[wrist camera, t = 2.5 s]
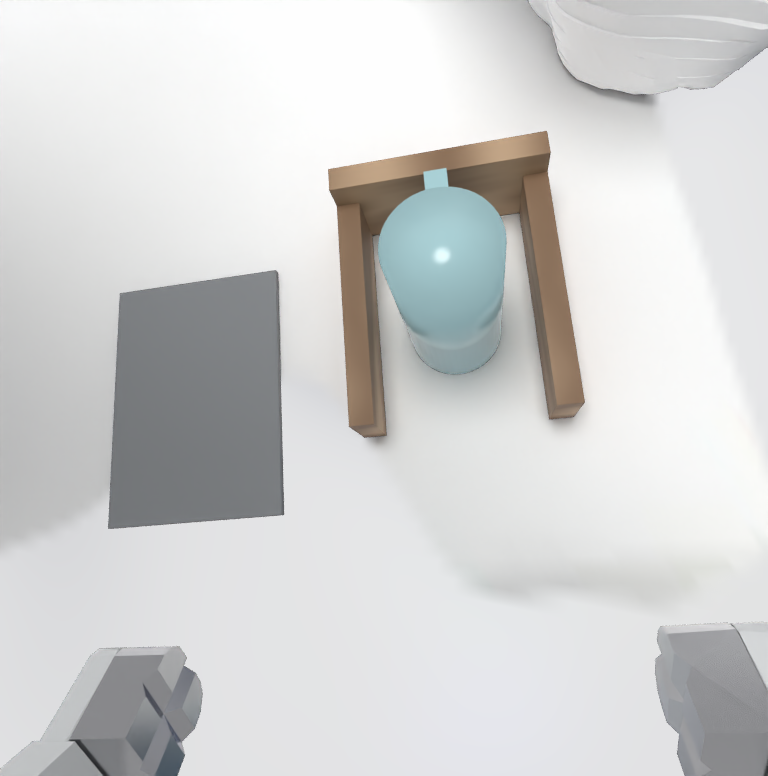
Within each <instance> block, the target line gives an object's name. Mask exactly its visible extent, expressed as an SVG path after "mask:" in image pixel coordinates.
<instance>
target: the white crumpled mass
mask: <svg viewBox="0 0 768 776" xmlns="http://www.w3.org/2000/svg"><path fill="white" fill-rule="evenodd" d="M528 2H529V4H530V6H531V7H532V9H533V10H534V11H535V13H536V14H537V15H538V16H539V17H540V18H542V19H543V20H544V21H545V22H546V23H547V24H549V26H550V27H551V29H552V32H553V35H554V38H555V44H556V48H557V51H558V54H559V56H560V58H561V60H562V63H563V64H564V65H565V67H566V68H567V70H568V71H569V72H570V73H571V74H572V75H573V76H574V77H575V78H576V79H577V80H580V81H583V82H585V83H588V84H591V85H593V86H596V87H598V88H600V89H615V90H618V91H622V92H626V93H630V94H633V95H637V94H650V95H653V94H657V93H662V92H666V91H671V90H674V89H676V88H678V87H684V88H687V89H690V90H692V89H705V88H712V87H715V86H716V85H717V84H719V83H720V82H721V81H723V80H724V79H725V78H727V77H728V76H729V75H731V74H732V73H733V72H734V71H736V70H739V69H740V68H741V67H742V66H744V65H745V64H746V63H747V62H749V61H750V60H751V59H752V58H754V57H755V56H756V55H758V54H759V53H760V52H761V51H763V50H764V49H765V48H768V0H528Z"/></svg>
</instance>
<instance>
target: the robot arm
mask: <svg viewBox="0 0 768 776" xmlns="http://www.w3.org/2000/svg"><path fill="white" fill-rule="evenodd" d="M657 642H658V645H659V648H660V650H661V653H662V654H661V655H660V656H658V657H657V658H656V665H655V674H656V682H657V689H658V694H659V698H660V702H661V705H662V709H663V712H664V715H665V718H666V721H667V723H668V724H669V725H670V726H671V727H672V728H673V729H674V730H675V731H676V732H677V733H679V741H678V751H677V755H678V757H679V760H680V763H681V766H682V769H683V772H684V775H685V776H768V623H767V622H749V623H732V624H728V623H710V624H692V625H675V626H661V627H660V628H659V630H658V637H657ZM186 659H187V657H186V655H185V654H184V652H183V651H182V649H181V648H180V647H178V646H177V647H137V648H127V647H126V648H125V647H124V648H100V649H98V650H97V651H96V652H94V653H93V654H92V655H91V656H90V657H89V658H88V660H87V662H86V663H85V665H84V667H83V669H82V670H81V672H80V674H79V675H78V677H77V679H76V680H75V682H74V684H73V685H72V687H71V689H70V691H69V692H68V694H67V696H66V697H65V699H64V701H63V703H62V704H61V706H60V708H59V709H58V711H57V713H56V714H55V716H54V718H53V720H52V721H51V723H50V725H49V726H48V728H47V730H46V731H45V733H44V735H43V737H42V738H41V740H40V741H32V742H31V743H30V744H29V745H28V746H26V747H25V748H24V749H23V750H22V751H20V752H19V753H18V754H17V755H16V756H15V757H13V758H12V759H11V760H10V761H9V762H7V763H6V764H5V765H4V766H3V767H2V768H0V776H177V775H178V773H179V770H180V767H181V764H182V762H183V759H184V756H185V754H184V749H183V746H182V741H183V740H184V739H185V738H186V737H187V736H188V735H189V734H190V733H191V732H192V731H193V730H194V729H195V726H196V724H197V720H198V718H199V715H200V712H201V704H202V688H201V682H200V680H199V678H198V676H197V674H196V673H195V672H193V671H191V670H190V669H188V668H187V667H185V666H184V664H185V661H186Z"/></svg>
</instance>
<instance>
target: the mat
mask: <svg viewBox="0 0 768 776" xmlns="http://www.w3.org/2000/svg"><path fill="white" fill-rule="evenodd" d="M281 416H282V414H281V373H280V333H279V294H278V273H277V271H276V270H274V271H267V272H260V273H254V274H247V275H240V276H234V277H227V278H220V279H213V280H207V281H200V282H193V283H187V284H180V285H173V286H167V287H160V288H153V289H147V290H140V291H133V292H127V293H120V302H119V322H118V342H117V362H116V382H115V402H114V422H113V442H112V462H111V482H110V502H109V523H108V528H109V529H114V528H126V527H139V526H151V525H163V524H177V523H189V522H201V521H213V520H214V521H215V520H227V519H240V518H252V517H265V516H277V515H284V492H283V455H282V417H281Z"/></svg>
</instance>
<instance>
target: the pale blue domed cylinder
mask: <svg viewBox="0 0 768 776" xmlns="http://www.w3.org/2000/svg"><path fill="white" fill-rule="evenodd" d="M423 173H424V184H425V190H424V191H421V192H418V193H416V194H414V195H412V196H410V197H409V198H407V199H406V200H404V201H403V202H402V203H401V204H399V205H398V206H397V207H396V208H395V209H394V210H393V211H392V213H391V214H390V215H389V217H388V218H387V220H386V222H385V223H384V226H383V228H382V230H381V233H380V237H379V243H378V255H379V261H380V265H381V268H382V270H383V273H384V275H385V278H386V280H387V282H388V285H389V287H390V290H391V292H392V295H393V297H394V299H395V302H396V304H397V307H398V309H399V311H400V314H401V316H402V319H403V321H404V323H405V326H406V328H407V331H408V333H409V336H410V338H411V340H412V343H413V345H414V348H415V350H416V352H417V354H418V355H419V357H420V358H421V359H422V360H423V362H425V363H426V364H427V365H428V366H430V367H431V368H433V369H435V370H437V371H439V372H442V373H447V374H463V373H468V372H471V371H474V370H476V369H478V368H479V367H481V366H483V365H484V364H485V363H486V362H487V361H488V360H489V359H490V358H491V357H492V356H493V354H494V353H495V351H496V349H497V347H498V345H499V342H500V337H501V323H502V307H503V291H504V274H505V258H506V232H505V227H504V224H503V221H502V219H501V217H500V215H499V213H498V212H497V211H496V209H495V208H494V207H493V206H492V205H491V204H490V203H489V202H488V201H487V200H486V199H484V198H483V197H482V196H480V195H478V194H476V193H474V192H472V191H469V190H466V189H463V188H458V187H449V186H448V177H447V169H446V168H443V169H437V170H431V171H425V172H423Z"/></svg>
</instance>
